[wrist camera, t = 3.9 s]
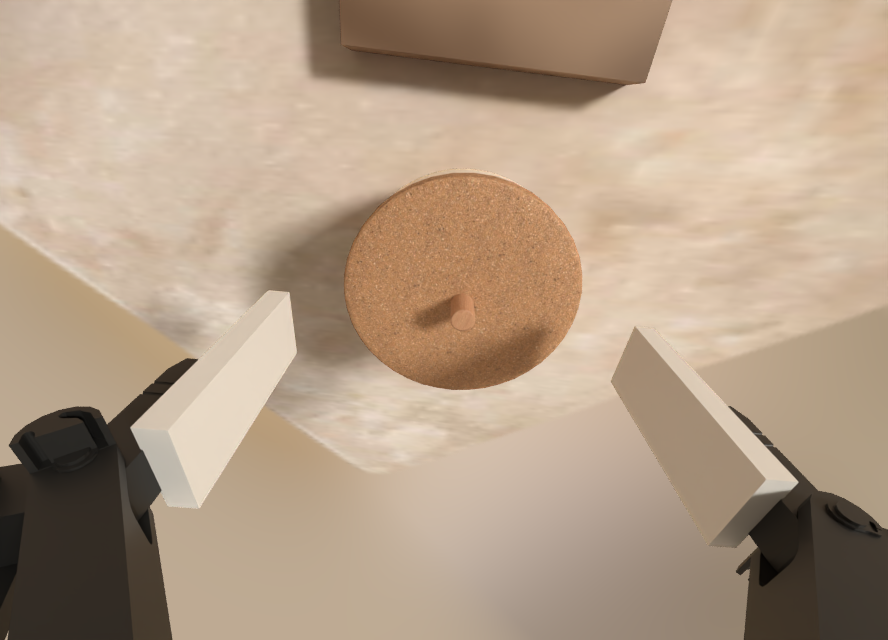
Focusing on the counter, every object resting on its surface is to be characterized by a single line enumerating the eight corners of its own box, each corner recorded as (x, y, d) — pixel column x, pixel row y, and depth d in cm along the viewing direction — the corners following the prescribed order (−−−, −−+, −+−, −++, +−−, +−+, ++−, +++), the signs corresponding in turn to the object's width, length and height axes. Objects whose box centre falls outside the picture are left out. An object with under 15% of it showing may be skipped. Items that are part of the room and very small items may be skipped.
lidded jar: (356, 286, 25) (308, 375, 16) (406, 119, 19) (373, 129, 11) (497, 336, 26) (517, 438, 18) (578, 196, 21) (655, 252, 13)
